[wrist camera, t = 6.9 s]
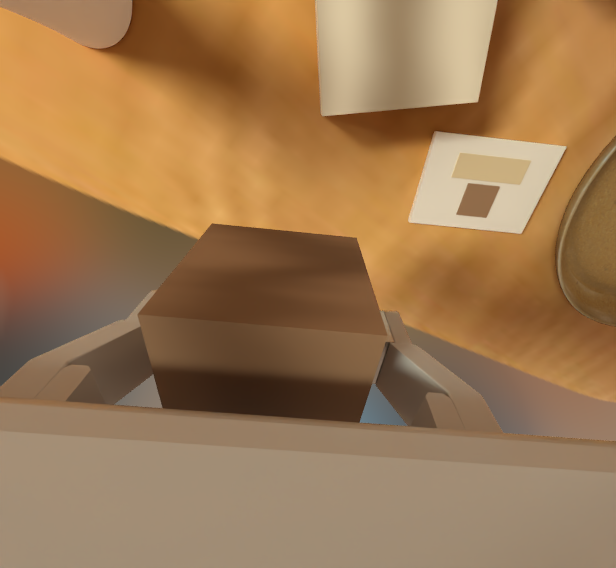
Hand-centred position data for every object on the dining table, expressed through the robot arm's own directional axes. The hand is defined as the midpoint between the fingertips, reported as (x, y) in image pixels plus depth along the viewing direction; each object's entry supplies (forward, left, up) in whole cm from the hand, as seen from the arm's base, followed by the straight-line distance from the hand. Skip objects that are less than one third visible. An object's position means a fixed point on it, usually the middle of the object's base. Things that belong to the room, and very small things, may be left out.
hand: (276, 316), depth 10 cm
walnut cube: (0, 0, -2) cm, 2 cm away
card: (-15, -2, -17) cm, 23 cm away
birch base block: (-5, -11, -17) cm, 21 cm away
